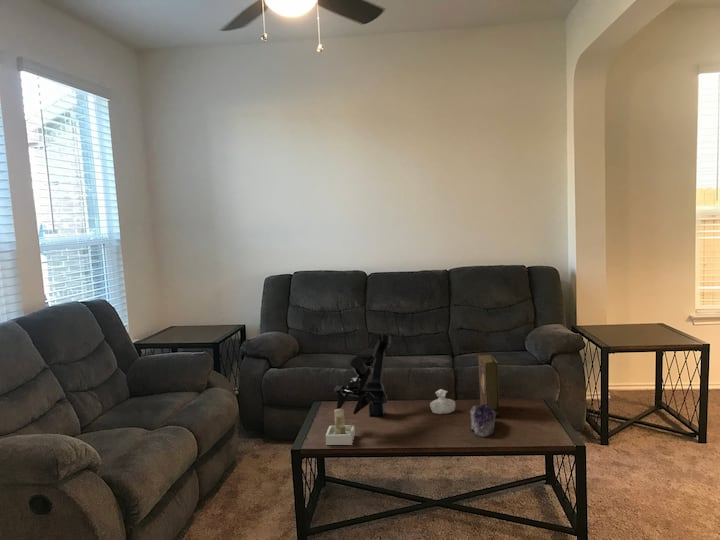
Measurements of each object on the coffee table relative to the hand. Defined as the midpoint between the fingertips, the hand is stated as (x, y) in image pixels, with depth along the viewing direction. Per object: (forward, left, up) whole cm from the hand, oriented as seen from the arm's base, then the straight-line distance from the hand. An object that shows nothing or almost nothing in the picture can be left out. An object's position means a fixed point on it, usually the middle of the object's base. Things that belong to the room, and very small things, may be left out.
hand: (345, 412), depth 225 cm
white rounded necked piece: (-34, -38, -11) cm, 52 cm away
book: (-55, -42, -11) cm, 70 cm away
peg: (+1, +4, -11) cm, 12 cm away
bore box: (+1, +4, -11) cm, 12 cm away
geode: (-54, -20, -11) cm, 59 cm away
